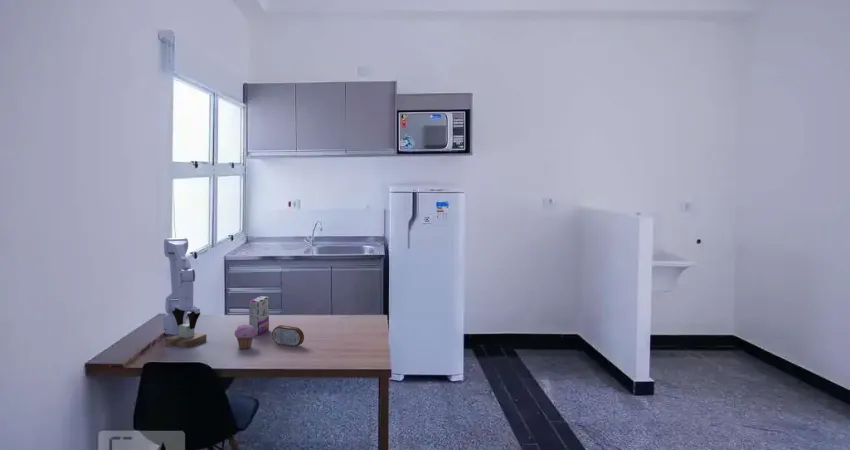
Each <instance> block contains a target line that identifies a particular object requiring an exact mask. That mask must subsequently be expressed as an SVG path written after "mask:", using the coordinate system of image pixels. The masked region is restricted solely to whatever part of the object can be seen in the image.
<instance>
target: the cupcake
mask: <svg viewBox="0 0 850 450" xmlns="http://www.w3.org/2000/svg"><path fill="white" fill-rule="evenodd" d="M255 334H256V333H255V329H254V327H253V326H251V325H249V324H240V325H238V326H237V328H236V329H235V330H234V336H235V338H236V339H237V343H238V344H237V345H238V348H239V349H241V350H245V349H250V348H251V347H252V343H253V339H254V338H255Z"/></svg>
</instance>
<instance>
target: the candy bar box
mask: <svg viewBox="0 0 850 450" xmlns="http://www.w3.org/2000/svg"><path fill="white" fill-rule="evenodd" d="M269 301H270V297H269V296H264V295H262V296H261V295H260V296H258V297H256V298H253V299H251V300H249V302H248V305H249V306H248V307H249V309H248V310H249V311H248V315H249V317H248V318H249V319H248V320H249V322H248V323H249V324H248V325H251V326H253V327H254V329H255V333H256V334H255V336H261V335H262V334H264V333H266V332H268V331H269V329H270V321H269V320H270V317H269V316H270V304H269V303H270V302H269ZM255 336H254V337H255Z"/></svg>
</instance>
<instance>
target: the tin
mask: <svg viewBox="0 0 850 450" xmlns="http://www.w3.org/2000/svg"><path fill="white" fill-rule="evenodd" d="M271 337H272V340H273V342H274V343H275V344H277V345H280V344H281V346H286V345H288V346H287V347H293V346H296V347H298V346H300V345H302V344H303V343H304V341H305V334H304V332H303V331H302V329H300V328H299V327H297V326H290V325H285V324H280V325H277V326H276V327H275V328H273V329H272V332H271Z"/></svg>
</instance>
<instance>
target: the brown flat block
mask: <svg viewBox="0 0 850 450" xmlns="http://www.w3.org/2000/svg"><path fill="white" fill-rule="evenodd" d="M205 342H207V333H199V332H194V336H192V337H188V338H183V337H179V333H178V334H175V335H173V334H172V335H171V336H168V337H165V338H164V344H165V346H168V347H169V346H170V347H177V348H178V347H179V348H187V349H191V348H193V347H195V346H198V345H200V344H202V343H205Z"/></svg>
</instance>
